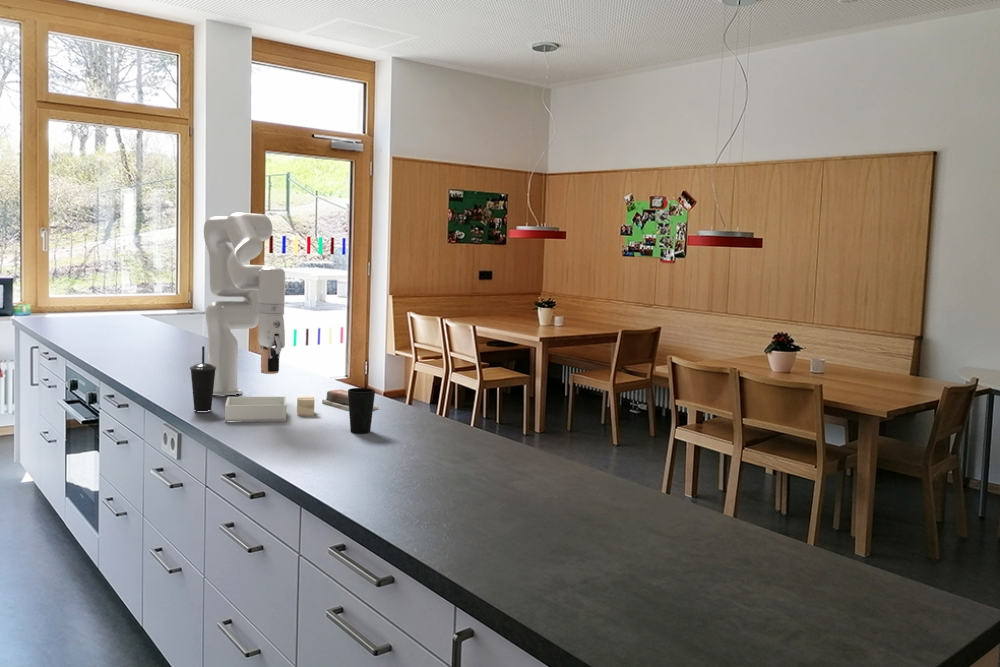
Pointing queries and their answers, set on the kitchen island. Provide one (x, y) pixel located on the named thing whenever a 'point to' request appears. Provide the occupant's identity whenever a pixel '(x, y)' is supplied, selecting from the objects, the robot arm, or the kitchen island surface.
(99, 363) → the kitchen island surface
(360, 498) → the kitchen island surface
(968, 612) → the kitchen island surface
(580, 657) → the kitchen island surface
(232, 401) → the tote
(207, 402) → the drinking cup
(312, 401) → the cube
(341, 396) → the packaged product
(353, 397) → the cup
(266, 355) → the cylinder
